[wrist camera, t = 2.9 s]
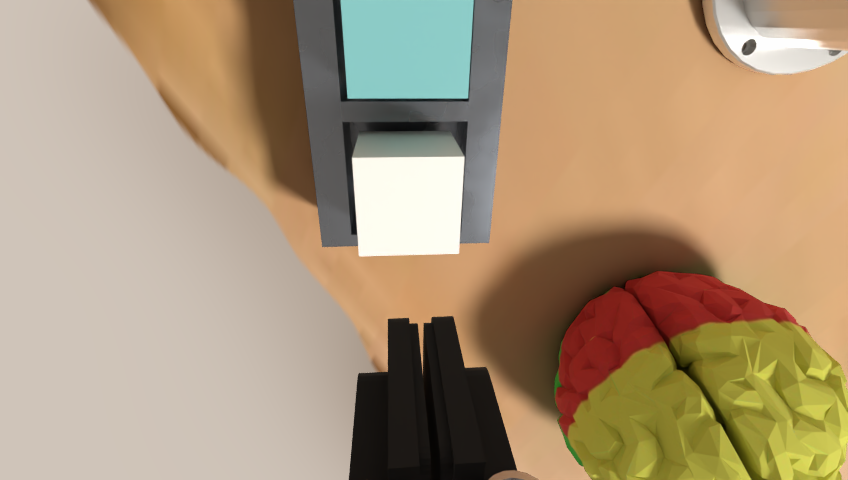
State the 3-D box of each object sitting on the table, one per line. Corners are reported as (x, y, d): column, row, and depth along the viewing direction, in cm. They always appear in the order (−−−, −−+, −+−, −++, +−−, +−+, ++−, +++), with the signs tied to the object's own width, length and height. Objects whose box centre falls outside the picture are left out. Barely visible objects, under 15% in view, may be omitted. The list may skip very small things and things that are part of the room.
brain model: (770, 406, 41) (951, 584, 27) (589, 473, 44) (672, 663, 30) (728, 213, 32) (971, 336, 18) (502, 314, 35) (566, 485, 21)
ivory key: (450, 130, 23) (464, 156, 18) (447, 213, 25) (459, 253, 21) (359, 131, 23) (351, 157, 18) (364, 214, 25) (359, 256, 20)
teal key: (456, -30, 19) (476, -46, 15) (452, 83, 22) (468, 98, 17) (349, -33, 19) (336, -49, 15) (356, 82, 21) (347, 98, 17)
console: (510, -259, 18) (544, -339, 14) (475, 212, 29) (489, 242, 25) (282, -274, 18) (250, -362, 14) (331, 214, 28) (322, 246, 24)
